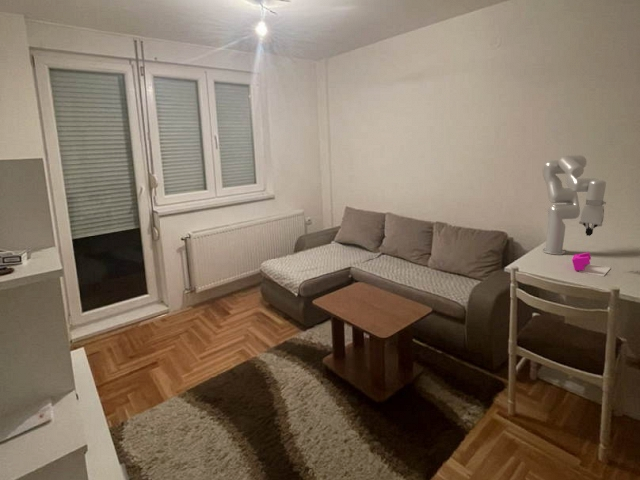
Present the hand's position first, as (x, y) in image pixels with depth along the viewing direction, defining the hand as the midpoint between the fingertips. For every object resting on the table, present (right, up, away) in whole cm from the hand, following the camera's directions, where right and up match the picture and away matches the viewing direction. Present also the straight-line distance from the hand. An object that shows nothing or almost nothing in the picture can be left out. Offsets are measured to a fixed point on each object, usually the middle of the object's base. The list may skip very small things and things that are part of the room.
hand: (588, 235), depth 211 cm
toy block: (-5, -16, +5) cm, 17 cm away
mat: (+4, -20, +1) cm, 20 cm away
